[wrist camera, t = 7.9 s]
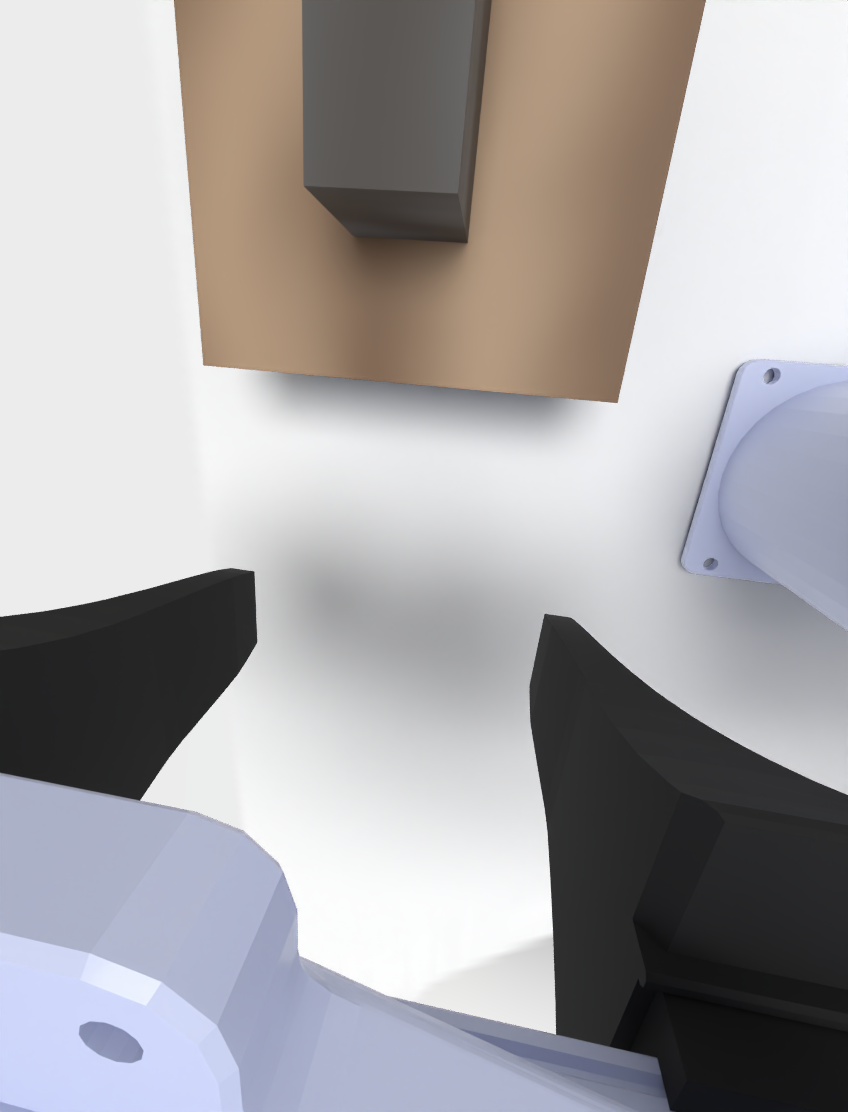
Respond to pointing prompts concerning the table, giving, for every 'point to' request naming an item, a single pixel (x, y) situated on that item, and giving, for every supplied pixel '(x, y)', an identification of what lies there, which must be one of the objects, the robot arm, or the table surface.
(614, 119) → the walnut lid
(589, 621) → the table surface
